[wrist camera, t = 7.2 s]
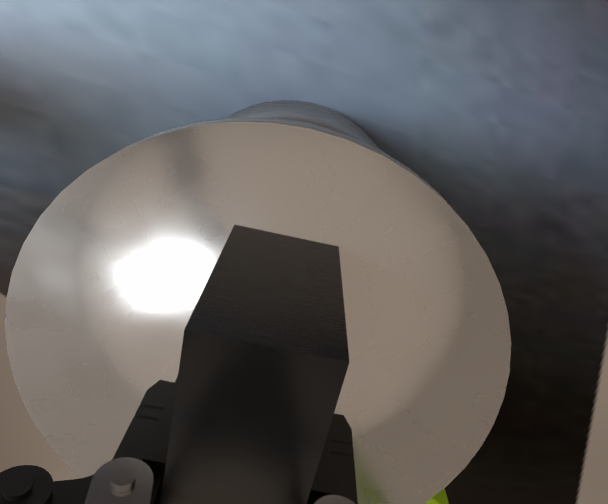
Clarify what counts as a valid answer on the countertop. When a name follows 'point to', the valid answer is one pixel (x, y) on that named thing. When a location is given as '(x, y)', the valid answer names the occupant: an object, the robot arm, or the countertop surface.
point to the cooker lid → (260, 314)
